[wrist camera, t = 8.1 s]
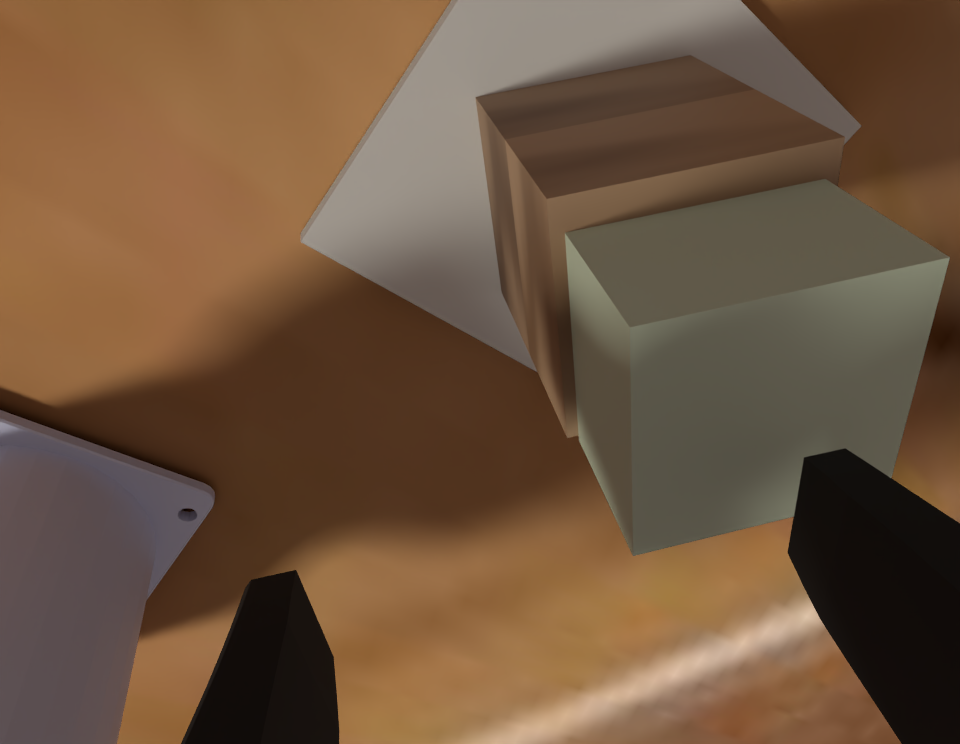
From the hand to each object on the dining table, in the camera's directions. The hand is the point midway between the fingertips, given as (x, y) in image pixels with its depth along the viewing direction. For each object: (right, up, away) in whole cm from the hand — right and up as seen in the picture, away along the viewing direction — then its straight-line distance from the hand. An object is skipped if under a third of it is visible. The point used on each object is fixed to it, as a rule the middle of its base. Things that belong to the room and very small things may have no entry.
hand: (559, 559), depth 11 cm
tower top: (+2, +6, +5) cm, 8 cm away
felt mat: (+1, +8, +8) cm, 11 cm away
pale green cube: (+3, +4, +3) cm, 5 cm away
